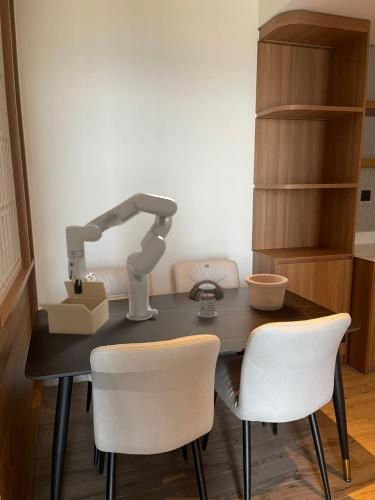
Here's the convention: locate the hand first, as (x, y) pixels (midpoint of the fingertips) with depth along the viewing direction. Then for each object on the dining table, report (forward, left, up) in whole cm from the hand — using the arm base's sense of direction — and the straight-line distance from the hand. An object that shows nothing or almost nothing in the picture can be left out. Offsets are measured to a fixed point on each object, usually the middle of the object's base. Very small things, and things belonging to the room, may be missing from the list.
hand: (78, 293), depth 172 cm
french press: (-56, -20, -15) cm, 61 cm away
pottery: (-86, -37, -15) cm, 95 cm away
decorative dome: (-54, -51, -16) cm, 75 cm away
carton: (0, 0, -15) cm, 15 cm away
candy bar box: (+8, -30, -15) cm, 35 cm away
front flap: (0, +14, -2) cm, 14 cm away
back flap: (0, -8, -1) cm, 8 cm away
